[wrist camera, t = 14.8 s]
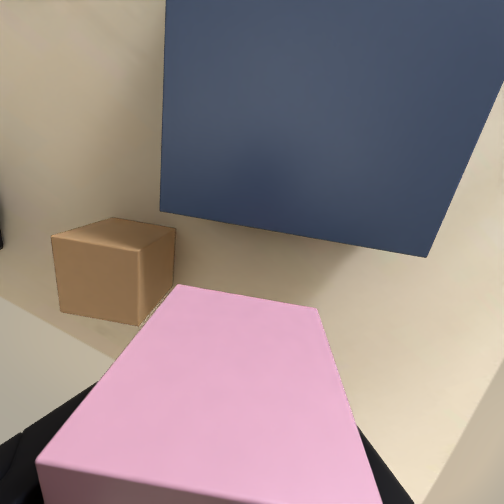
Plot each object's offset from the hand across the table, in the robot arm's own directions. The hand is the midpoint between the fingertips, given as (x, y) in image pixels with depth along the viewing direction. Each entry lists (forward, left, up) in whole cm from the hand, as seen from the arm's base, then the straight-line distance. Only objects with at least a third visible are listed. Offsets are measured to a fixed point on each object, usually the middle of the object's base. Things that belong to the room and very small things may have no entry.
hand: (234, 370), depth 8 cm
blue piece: (+2, +11, -10) cm, 15 cm away
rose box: (0, 0, -1) cm, 1 cm away
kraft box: (-8, -1, -10) cm, 13 cm away
